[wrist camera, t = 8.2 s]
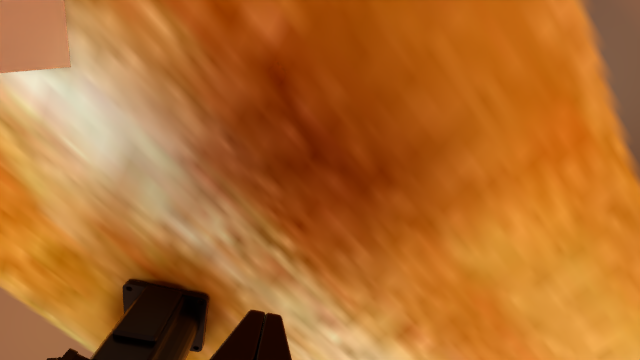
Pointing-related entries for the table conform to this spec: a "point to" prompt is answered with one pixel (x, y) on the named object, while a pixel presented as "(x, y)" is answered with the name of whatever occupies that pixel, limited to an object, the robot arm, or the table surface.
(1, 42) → the block
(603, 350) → the table surface
